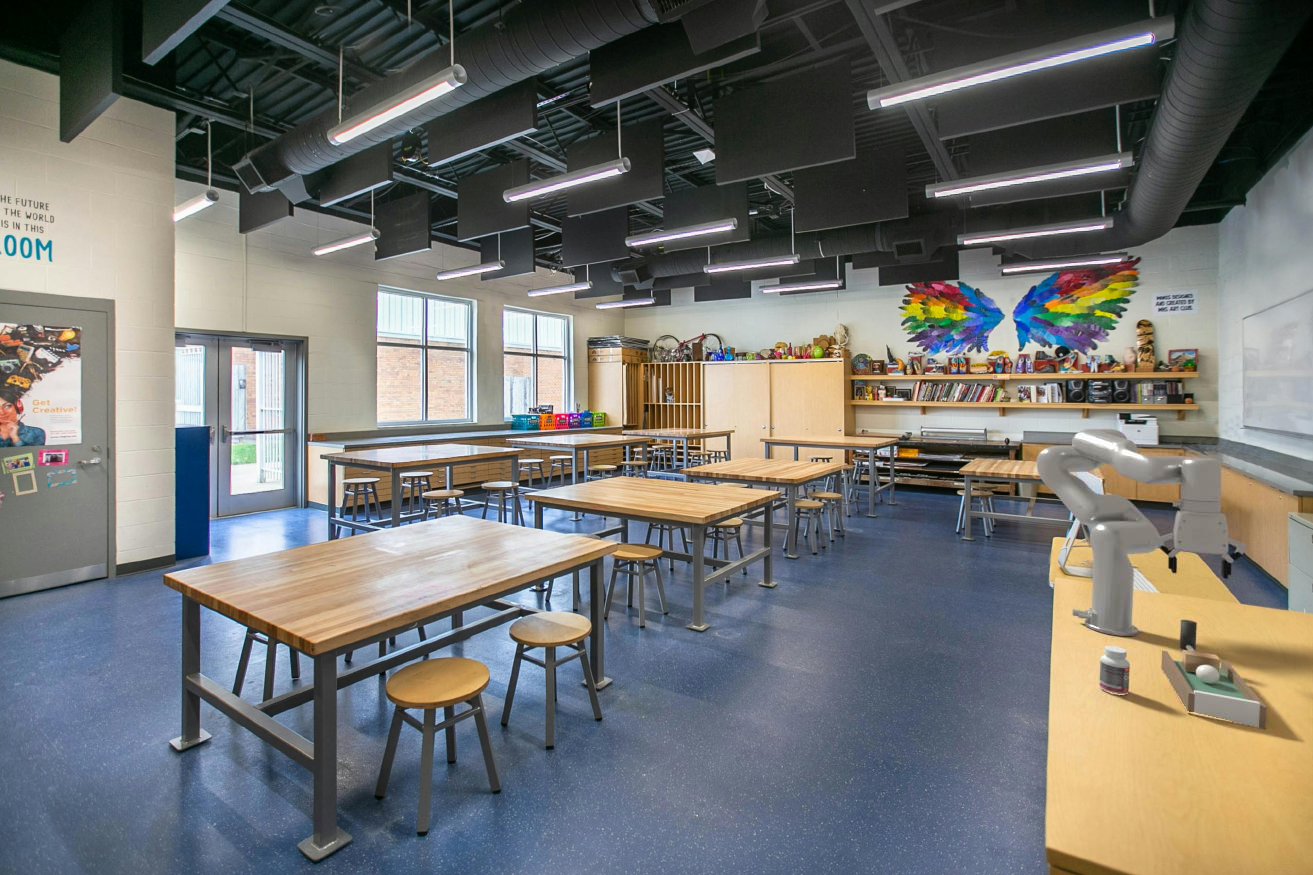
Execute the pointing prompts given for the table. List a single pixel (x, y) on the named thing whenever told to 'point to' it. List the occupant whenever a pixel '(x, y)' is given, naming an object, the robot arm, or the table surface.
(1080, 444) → the robot arm
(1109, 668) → the pill bottle
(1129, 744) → the table surface
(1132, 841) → the table surface
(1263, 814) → the table surface
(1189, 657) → the striker
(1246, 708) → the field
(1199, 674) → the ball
